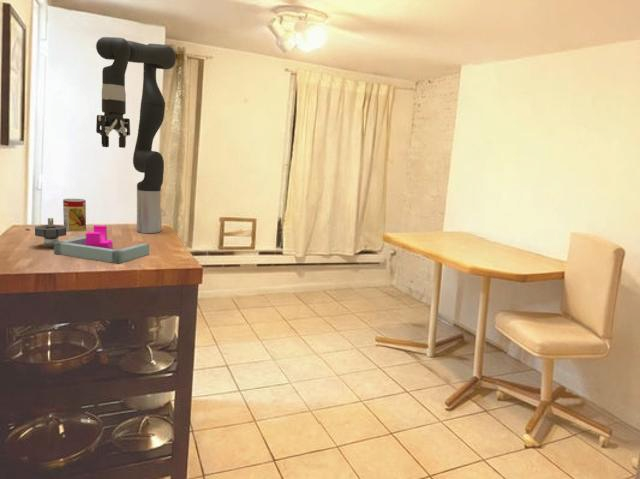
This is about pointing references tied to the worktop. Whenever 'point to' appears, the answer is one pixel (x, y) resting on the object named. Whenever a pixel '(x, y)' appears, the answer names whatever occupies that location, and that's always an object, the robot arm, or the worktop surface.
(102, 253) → the grey u-shaped bracket
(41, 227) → the wheel
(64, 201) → the canned food
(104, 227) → the toy block
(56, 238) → the axle hub
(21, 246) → the worktop surface
